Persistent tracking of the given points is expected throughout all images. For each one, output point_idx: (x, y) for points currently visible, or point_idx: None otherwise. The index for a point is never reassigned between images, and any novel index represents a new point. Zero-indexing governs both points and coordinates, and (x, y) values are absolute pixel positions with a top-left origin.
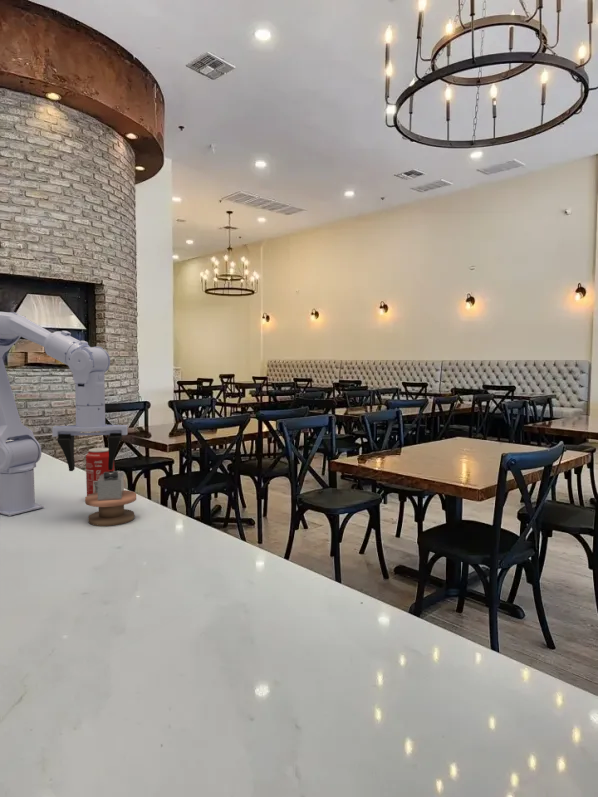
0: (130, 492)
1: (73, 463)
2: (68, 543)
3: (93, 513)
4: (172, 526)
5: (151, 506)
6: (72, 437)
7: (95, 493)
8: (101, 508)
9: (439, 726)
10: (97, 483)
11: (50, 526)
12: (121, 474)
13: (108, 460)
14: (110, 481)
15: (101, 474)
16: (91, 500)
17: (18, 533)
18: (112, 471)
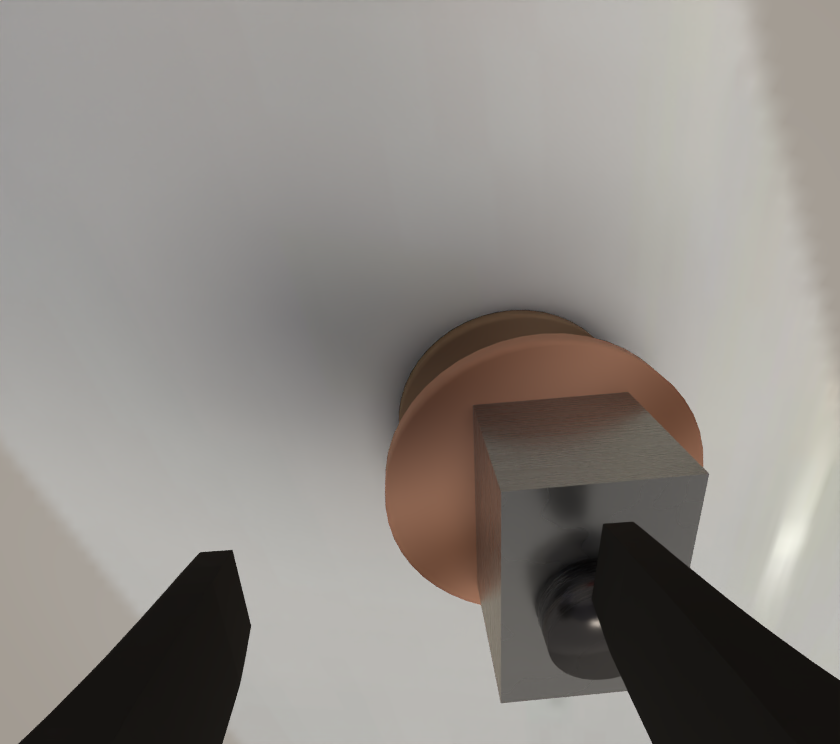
0: (670, 427)
1: (216, 647)
2: (387, 658)
3: (415, 393)
4: (762, 539)
5: (741, 172)
6: None
7: (432, 422)
8: None
9: None
10: (497, 686)
11: (237, 478)
12: (685, 527)
13: (639, 715)
14: (588, 687)
15: (505, 506)
16: (439, 576)
17: (137, 550)
18: None
